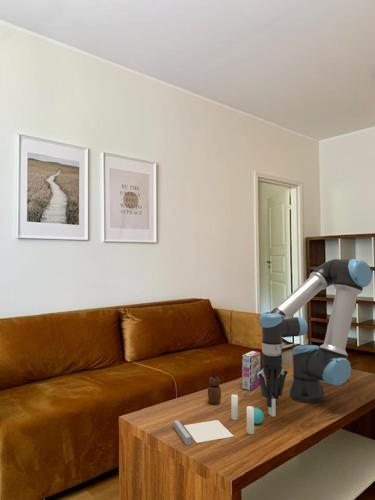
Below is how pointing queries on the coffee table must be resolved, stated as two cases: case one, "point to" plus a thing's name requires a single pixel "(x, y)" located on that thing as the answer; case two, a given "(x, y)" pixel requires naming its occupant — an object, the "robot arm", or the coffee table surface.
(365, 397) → the coffee table surface
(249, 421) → the post
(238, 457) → the coffee table surface
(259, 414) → the ball
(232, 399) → the post
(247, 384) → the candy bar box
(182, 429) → the wall
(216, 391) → the wooden figurine
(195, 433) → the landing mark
